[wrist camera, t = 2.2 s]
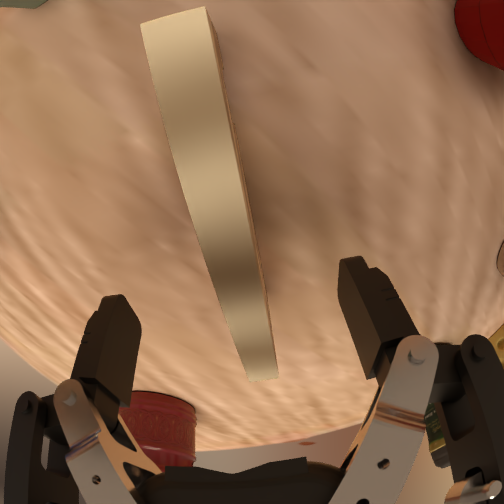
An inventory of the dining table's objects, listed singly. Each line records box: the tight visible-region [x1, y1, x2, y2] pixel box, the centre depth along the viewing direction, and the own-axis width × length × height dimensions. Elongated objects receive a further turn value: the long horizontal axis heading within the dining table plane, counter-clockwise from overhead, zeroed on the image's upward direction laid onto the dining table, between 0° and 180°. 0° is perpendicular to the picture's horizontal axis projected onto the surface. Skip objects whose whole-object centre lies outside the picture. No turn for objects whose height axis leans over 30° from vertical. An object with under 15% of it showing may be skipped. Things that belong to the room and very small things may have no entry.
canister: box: [118, 392, 197, 472], centre depth 32 cm, size 13×13×18 cm
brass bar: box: [140, 6, 279, 382], centre depth 15 cm, size 20×2×8 cm, turn 9°
